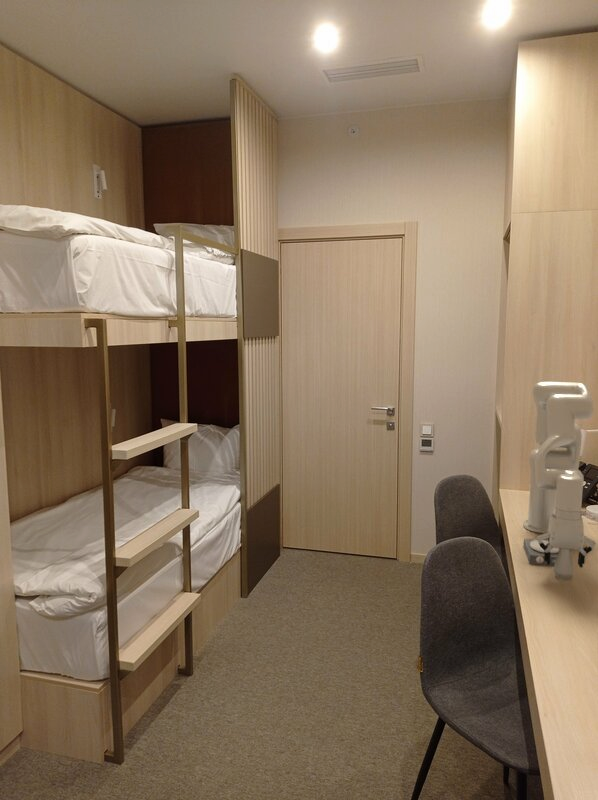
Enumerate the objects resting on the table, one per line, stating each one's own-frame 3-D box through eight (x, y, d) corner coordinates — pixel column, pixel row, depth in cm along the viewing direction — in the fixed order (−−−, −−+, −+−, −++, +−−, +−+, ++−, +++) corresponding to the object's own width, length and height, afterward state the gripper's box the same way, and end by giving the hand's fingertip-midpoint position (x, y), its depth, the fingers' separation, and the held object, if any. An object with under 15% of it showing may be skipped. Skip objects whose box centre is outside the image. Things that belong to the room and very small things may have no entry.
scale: (523, 546, 210) (524, 536, 209) (559, 549, 207) (559, 539, 206) (529, 563, 196) (530, 553, 195) (567, 567, 193) (568, 556, 193)
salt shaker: (561, 582, 183) (564, 543, 181) (549, 574, 189) (551, 536, 186) (577, 579, 185) (579, 541, 182) (564, 571, 190) (567, 534, 188)
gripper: (594, 511, 185) (590, 561, 188) (536, 507, 189) (533, 556, 191) (600, 519, 177) (596, 572, 180) (540, 515, 181) (536, 566, 184)
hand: (563, 564), depth 186 cm, fingers open, 9 cm apart
